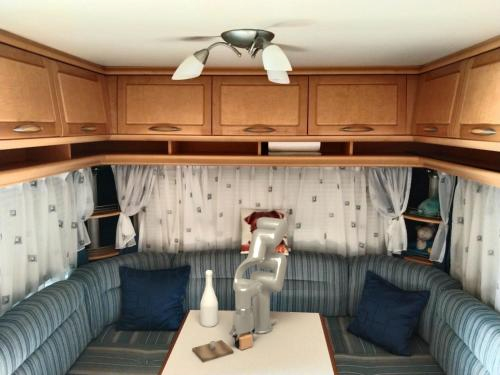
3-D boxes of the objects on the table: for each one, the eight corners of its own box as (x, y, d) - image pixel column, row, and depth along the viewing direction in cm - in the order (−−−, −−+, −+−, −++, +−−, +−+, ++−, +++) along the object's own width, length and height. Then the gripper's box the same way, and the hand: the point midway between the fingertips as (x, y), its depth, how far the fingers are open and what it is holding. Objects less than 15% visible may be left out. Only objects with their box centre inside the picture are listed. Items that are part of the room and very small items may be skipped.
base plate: (221, 342, 223) (221, 333, 222) (233, 353, 213) (233, 343, 212) (192, 351, 215) (192, 341, 214) (203, 362, 204) (202, 352, 204)
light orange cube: (245, 340, 224) (245, 330, 223) (252, 346, 218) (252, 335, 217) (234, 344, 220) (234, 333, 220) (241, 350, 215) (241, 339, 214)
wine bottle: (217, 327, 239) (217, 274, 234) (199, 327, 239) (198, 273, 234) (218, 320, 248) (218, 268, 244) (201, 319, 248) (201, 267, 244)
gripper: (254, 303, 224) (254, 336, 227) (223, 311, 215) (224, 345, 218) (262, 308, 218) (262, 342, 221) (231, 317, 209) (231, 352, 212)
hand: (243, 343), depth 219 cm, fingers closed on light orange cube, 6 cm apart
